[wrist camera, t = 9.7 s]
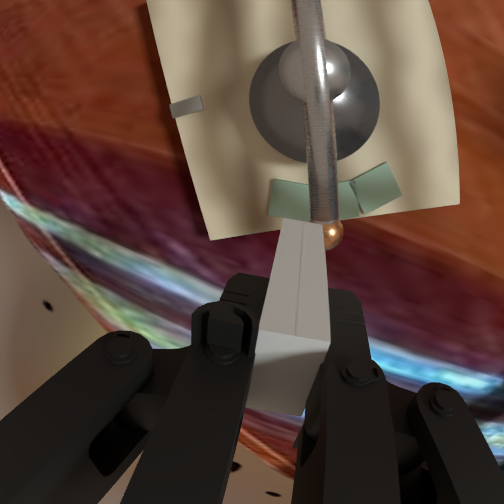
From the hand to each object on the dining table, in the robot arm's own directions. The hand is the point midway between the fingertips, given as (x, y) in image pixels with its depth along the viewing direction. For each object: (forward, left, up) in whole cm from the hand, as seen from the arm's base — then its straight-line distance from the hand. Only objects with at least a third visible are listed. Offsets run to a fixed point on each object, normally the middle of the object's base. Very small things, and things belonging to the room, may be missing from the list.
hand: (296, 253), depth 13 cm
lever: (-2, -7, -13) cm, 15 cm away
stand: (-2, -7, -15) cm, 17 cm away
